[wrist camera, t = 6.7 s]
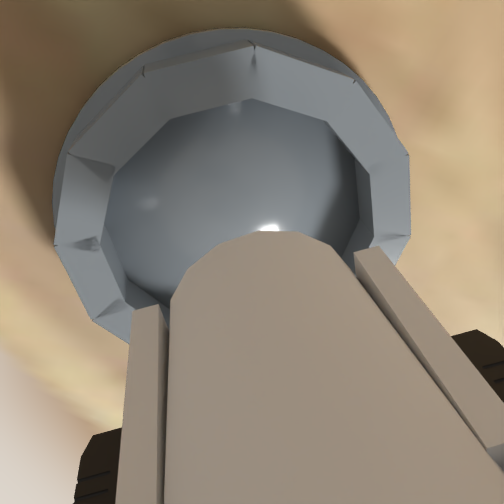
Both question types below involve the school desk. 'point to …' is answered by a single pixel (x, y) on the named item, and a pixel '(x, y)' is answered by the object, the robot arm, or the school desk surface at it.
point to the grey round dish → (220, 165)
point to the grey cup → (304, 390)
